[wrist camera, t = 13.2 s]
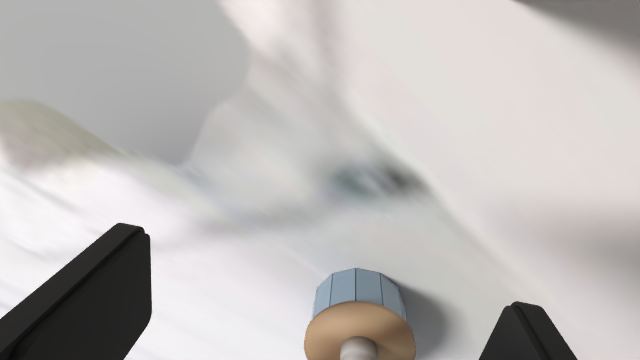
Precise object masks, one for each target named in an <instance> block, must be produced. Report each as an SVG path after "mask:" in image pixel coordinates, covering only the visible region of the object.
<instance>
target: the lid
mask: <svg viewBox="0 0 640 360" xmlns="http://www.w3.org/2000/svg"><path fill="white" fill-rule="evenodd" d="M304 349H305V354H306V357H307V359H308V360H414V358H415V353H416V346H415V341H414V336H413V333H412V330H411V328H410V327H409V325H408V324H407V322H406V321H405V320H404V319H403V318H402V317H401V316H400V315H399V314H397V313H396V312H395V311H393V310H391V309H389V308H387V307H385V306H383V305H380V304H376V303H372V302H367V301H347V302H342V303H337V304H335V305H332V306H329V307H327V308H325V309H324V310H322V311H321V312H319V313H318V314H317V315H316V316H315V317H314V318H313V319H312V320H311V322H310V324H309V325H308V328H307V330H306V335H305V340H304Z"/></svg>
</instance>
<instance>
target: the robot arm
mask: <svg viewBox="0 0 640 360" xmlns="http://www.w3.org/2000/svg"><path fill="white" fill-rule="evenodd" d="M151 314H152V300H151V257H150V236H149V235H148V234H146V233H145V231H144V229H143V228H142V227H140V226H134V225H129V224H124V223H118V224H116V225H114V226H113V227H112V228H111V229H109V230H108V231H107V232H106V233H105V234H103V235H102V236H101V237H100V238H99V239H97V240H96V241H95V242H94V243H92V244H91V245H90V246H89V247H88V248H86V249H85V250H84V251H83V252H81V253H80V254H79V255H78V256H77V257H75V258H74V259H73V260H72V261H70V262H69V263H68V264H67V265H66V266H64V267H63V268H62V269H61V270H59V271H58V272H57V273H56V274H55V275H53V276H52V277H51V278H50V279H48V280H47V281H46V282H45V283H44V284H42V285H41V286H40V287H39V288H37V289H36V290H35V291H34V292H33V293H31V294H30V295H29V296H28V297H26V298H25V299H24V300H23V301H22V302H20V303H19V304H18V305H17V306H16V307H14V308H13V309H12V310H11V311H9V312H8V313H7V314H6V315H5V316H3V317H2V318H1V319H0V360H124V358H125V357H126V355H127V354H128V352H129V351H130V350H131V348H132V347H133V345H134V344H135V342H136V341H137V340H138V338H139V337H140V335H141V334H142V332H143V331H144V330H145V328H146V327H147V325H148V323H149V321H150V318H151ZM479 360H577V358H576V357H575V355H574V354H573V352H572V351H571V349H570V348H569V346H568V345H567V343H566V342H565V340H564V339H563V337H562V336H561V334H560V333H559V331H558V330H557V328H556V327H555V325H554V324H553V322H552V321H551V319H550V318H549V316H548V315H547V313H546V312H545V311H544V309H543V308H542V307H540V306H538V305H533V304H528V303H523V302H518V301H517V302H514V303H512V304H511V306H506V307H505V308H504V309H503V311H502V313H501V315H500V317H499V319H498V321H497V324H496V326H495V328H494V330H493V332H492V334H491V336H490V338H489V340H488V342H487V344H486V346H485V348H484V350H483V352H482V354H481V356H480V358H479Z"/></svg>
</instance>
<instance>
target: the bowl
mask: <svg viewBox="0 0 640 360" xmlns="http://www.w3.org/2000/svg"><path fill="white" fill-rule="evenodd" d="M347 301H367V302H372V303H376V304H380V305H383V306H385V307H387V308H389V309H391V310H393V311H395V312H396V313H397V314H399V315H400V316H401V317H402V318H403V319H404V320H405V321H406V322H407V318H406V313H405V307H404V303H403V300H402V297H401V294H400V292H399V289H398V287H397V286H396V285H395V284H394V283H392V282H391V281H390V280H389V279H387V278H386V277H385V276H383V275H382V274H381V273H380V274H379V273H378V272H373V271H368V270H363V269H358V268H356V269H355V268H354V269H350V270H346V271H341V272H337V273H333V274H332V275H331V276H329V277H328V278H327V279H326V280H325V281H324V282H323V283H322V284H321V285H320V286H318V287H317V291H316V295H315V300H314V305H313V311H312V318H311V320H312V319H313V318H314V317H315V316H316V315H317V314H318V313H319V312H321V311H322V310H324V309H325V308H327V307H329V306H332V305H335V304H337V303H342V302H347Z"/></svg>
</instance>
